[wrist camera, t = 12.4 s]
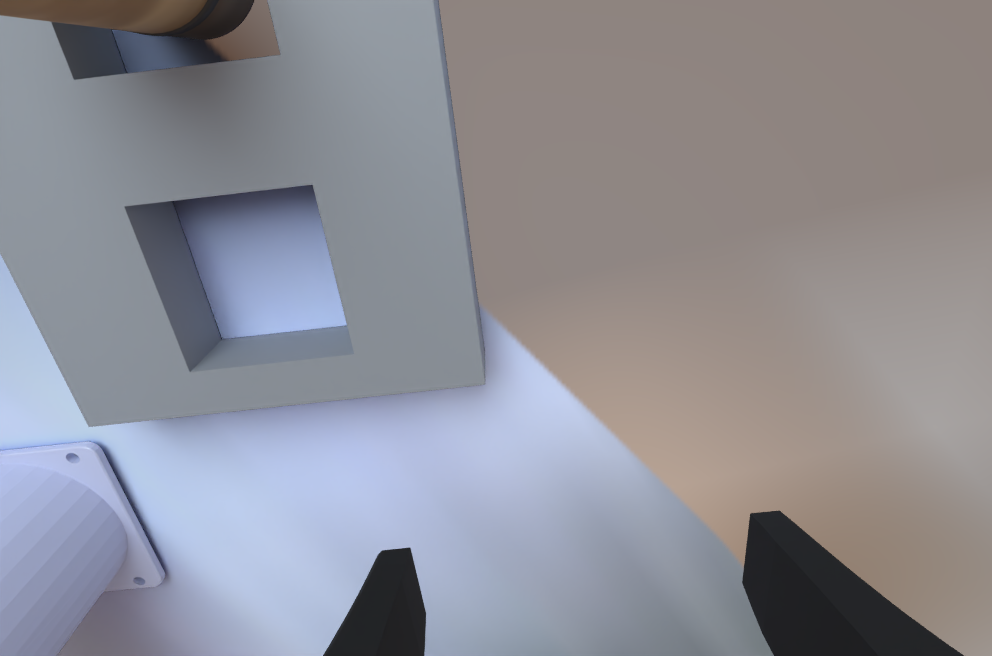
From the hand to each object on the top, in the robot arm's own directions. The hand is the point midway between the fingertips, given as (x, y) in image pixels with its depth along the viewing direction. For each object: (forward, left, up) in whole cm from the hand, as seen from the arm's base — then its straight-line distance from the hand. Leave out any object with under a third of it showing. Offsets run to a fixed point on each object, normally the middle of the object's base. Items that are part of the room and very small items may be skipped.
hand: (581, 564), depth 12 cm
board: (-9, +9, -10) cm, 16 cm away
